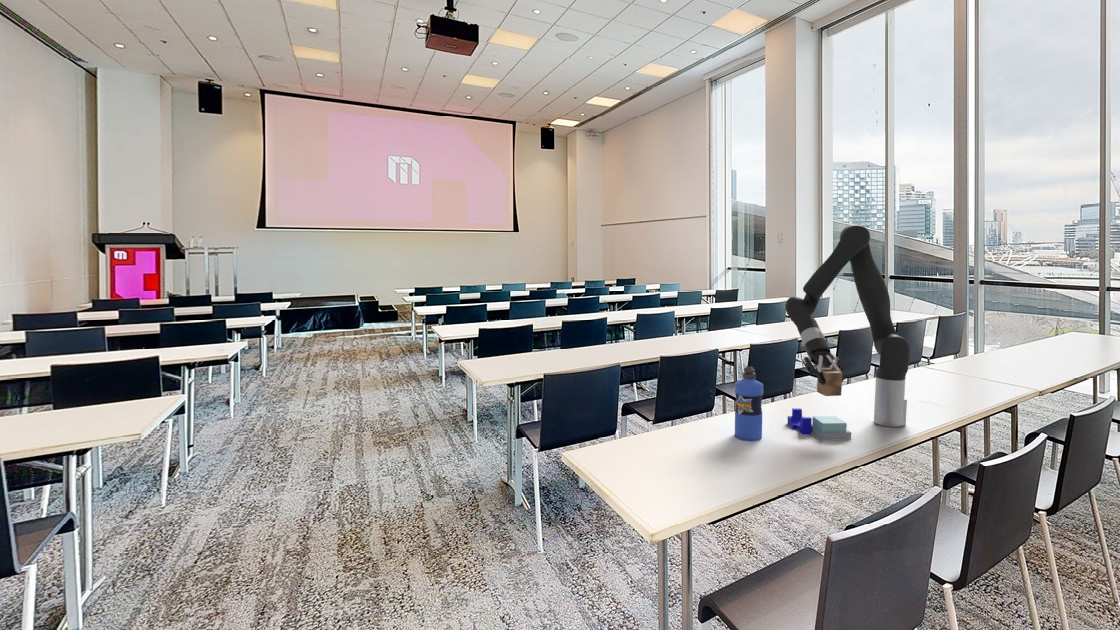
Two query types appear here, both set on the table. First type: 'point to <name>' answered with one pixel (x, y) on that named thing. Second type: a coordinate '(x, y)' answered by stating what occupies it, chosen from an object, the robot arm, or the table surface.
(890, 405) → the robot arm
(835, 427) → the teal top slab
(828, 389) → the walnut block
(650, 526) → the table surface
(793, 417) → the cable clip
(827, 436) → the slate base slab
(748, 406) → the water bottle
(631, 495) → the table surface
